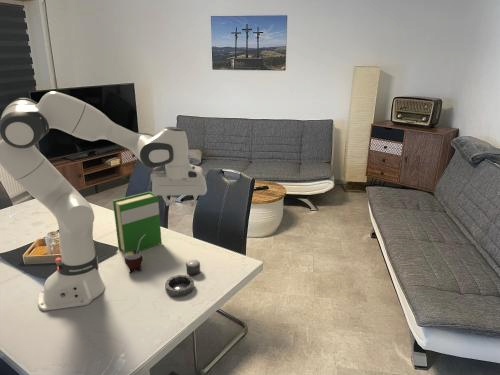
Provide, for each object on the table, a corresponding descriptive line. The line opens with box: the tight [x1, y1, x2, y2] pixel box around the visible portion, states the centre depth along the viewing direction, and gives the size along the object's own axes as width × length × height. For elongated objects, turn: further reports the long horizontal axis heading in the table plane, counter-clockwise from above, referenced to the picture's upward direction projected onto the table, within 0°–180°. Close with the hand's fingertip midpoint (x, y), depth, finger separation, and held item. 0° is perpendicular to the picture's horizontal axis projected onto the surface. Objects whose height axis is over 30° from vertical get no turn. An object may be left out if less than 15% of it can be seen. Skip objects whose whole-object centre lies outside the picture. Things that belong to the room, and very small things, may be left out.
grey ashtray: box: [164, 274, 195, 298], centre depth 144 cm, size 10×10×3 cm
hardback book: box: [112, 190, 163, 255], centre depth 171 cm, size 18×7×24 cm, turn 131°
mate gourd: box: [124, 234, 146, 274], centre depth 154 cm, size 8×8×15 cm
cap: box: [185, 259, 201, 277], centre depth 154 cm, size 6×6×4 cm
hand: (181, 205), depth 144 cm, fingers open, 8 cm apart
